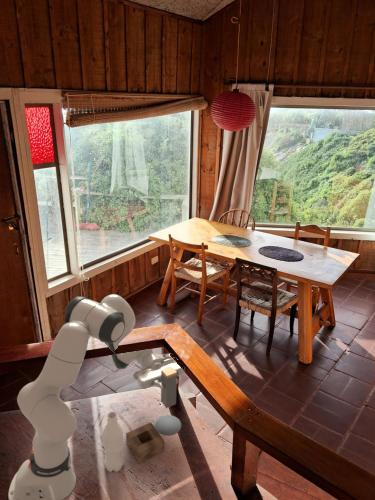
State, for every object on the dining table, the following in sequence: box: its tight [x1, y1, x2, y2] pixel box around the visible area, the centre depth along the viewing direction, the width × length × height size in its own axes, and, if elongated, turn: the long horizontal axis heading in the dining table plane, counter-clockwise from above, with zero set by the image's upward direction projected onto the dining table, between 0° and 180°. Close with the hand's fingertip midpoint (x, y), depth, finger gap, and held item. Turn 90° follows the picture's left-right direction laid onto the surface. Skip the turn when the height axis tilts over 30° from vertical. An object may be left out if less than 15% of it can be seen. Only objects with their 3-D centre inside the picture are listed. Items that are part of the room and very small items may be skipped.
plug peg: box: [160, 366, 178, 409], centre depth 163 cm, size 4×4×16 cm
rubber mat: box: [154, 414, 182, 436], centre depth 171 cm, size 11×11×1 cm
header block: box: [125, 422, 165, 464], centre depth 159 cm, size 11×11×6 cm
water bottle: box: [102, 411, 125, 473], centre depth 148 cm, size 7×7×25 cm
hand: (169, 385), depth 162 cm, fingers closed on plug peg, 4 cm apart
